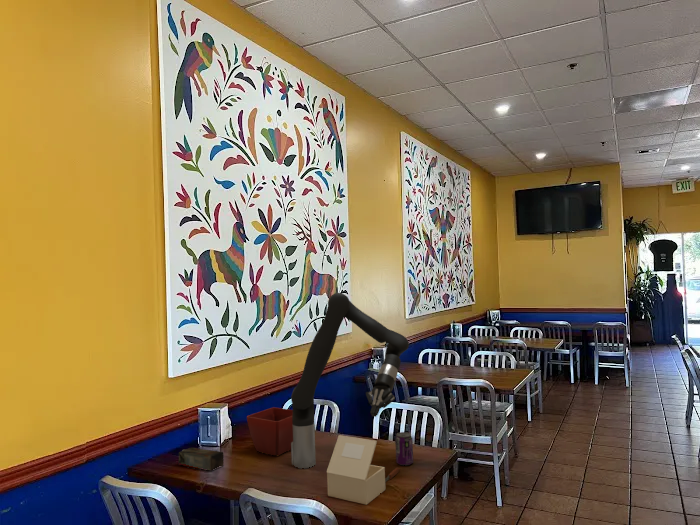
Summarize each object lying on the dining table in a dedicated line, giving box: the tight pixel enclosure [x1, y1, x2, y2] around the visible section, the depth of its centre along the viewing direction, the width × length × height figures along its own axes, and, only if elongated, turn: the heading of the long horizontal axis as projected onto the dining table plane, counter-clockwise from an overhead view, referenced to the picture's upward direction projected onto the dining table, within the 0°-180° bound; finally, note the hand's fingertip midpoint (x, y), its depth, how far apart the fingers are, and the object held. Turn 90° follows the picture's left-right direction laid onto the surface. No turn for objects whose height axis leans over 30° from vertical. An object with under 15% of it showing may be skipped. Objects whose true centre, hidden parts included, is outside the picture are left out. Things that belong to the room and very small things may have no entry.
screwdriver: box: [385, 467, 401, 483], centre depth 194 cm, size 16×1×2 cm, turn 152°
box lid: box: [326, 434, 378, 481], centre depth 180 cm, size 16×14×1 cm
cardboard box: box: [326, 464, 386, 505], centre depth 182 cm, size 16×14×8 cm
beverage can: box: [394, 431, 414, 467], centre depth 210 cm, size 7×7×12 cm
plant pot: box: [246, 406, 293, 456], centre depth 232 cm, size 19×19×17 cm
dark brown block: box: [178, 447, 224, 471], centre depth 216 cm, size 8×19×7 cm, turn 62°
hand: (373, 415), depth 195 cm, fingers closed
